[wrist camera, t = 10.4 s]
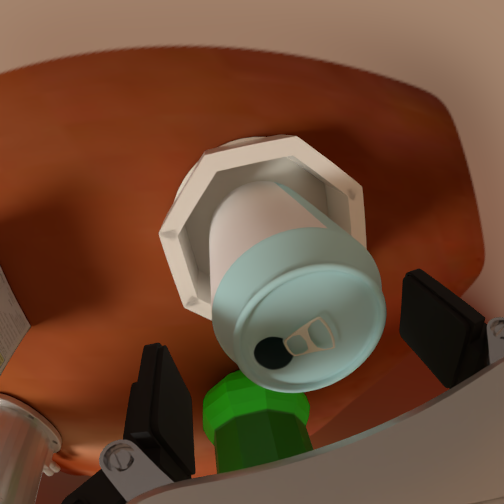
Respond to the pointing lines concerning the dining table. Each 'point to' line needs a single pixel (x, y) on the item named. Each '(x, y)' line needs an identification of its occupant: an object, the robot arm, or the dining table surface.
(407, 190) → the dining table surface
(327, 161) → the white octagonal bowl
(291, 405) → the plastic bottle
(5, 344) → the light bulb box
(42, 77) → the dining table surface
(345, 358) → the can
